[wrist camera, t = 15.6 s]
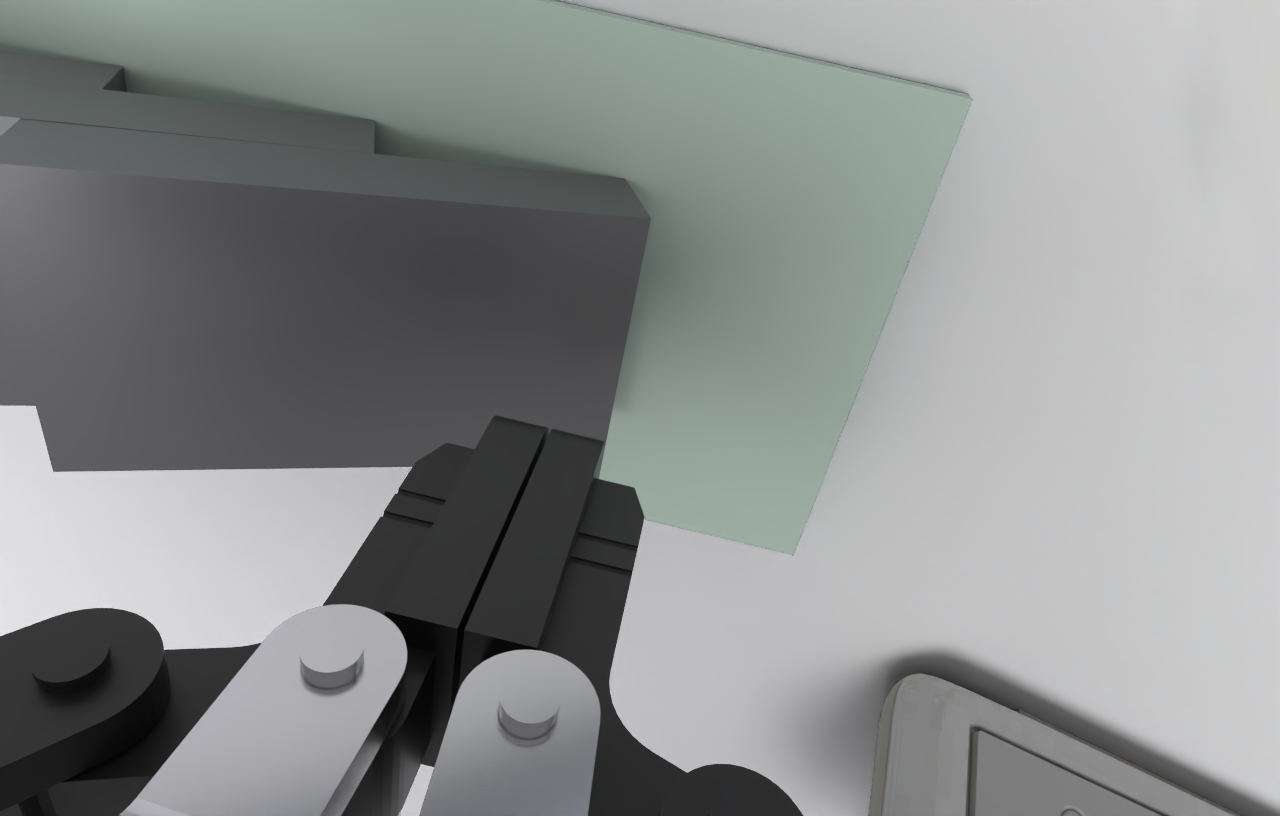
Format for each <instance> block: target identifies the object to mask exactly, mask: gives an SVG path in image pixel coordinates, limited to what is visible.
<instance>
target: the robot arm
mask: <svg viewBox="0 0 1280 816" xmlns="http://www.w3.org/2000/svg"><path fill="white" fill-rule="evenodd" d="M604 450H605V441H602V440H598V439H594V438H590V437H585V436H581V435H577V434H573V433H569V432H565V431H560V430H556V429H552V430H551V432H550V434H549V428H547V427H543V426H539V425H535V424H530V423H526V422H522V421H518V420H514V419H510V418H505V417H501V416H497V415H495V416H494V417H493V418H492V420H491V421H490V423H489V425H488V427H487V428H486V430H485V432H484V434H483V435H482V437H481V439H480V441H479V443H478V444H477V446H476V448H475V449H472V448H467V447H463V446H459V445H455V444H451V443H445V444H443V445H442V446H440V447H439V448H437V449H436V450H434V451H432V452H431V453H429V454H428V455H426V456H425V457H423V458H421V459H420V460H418V461H417V462H416V463H415V464H414V466H413V468H412V469H411V471H410V472H409V474H408V475H407V477H406V478H405V480H404V481H403V483H402V485H401V486H400V488H399V491H398V494H395V495H394V497H393V498H392V500H391V501H390V503H389V505H388V506H387V508H386V509H385V511H384V515H383V517H380V518H379V520H378V522H377V523H376V525H375V526H374V528H373V529H372V531H371V532H370V534H369V535H368V537H367V539H366V540H365V542H364V543H363V545H362V546H361V548H360V549H359V551H358V552H357V554H356V556H355V557H354V559H353V560H352V562H351V563H350V565H349V566H348V568H347V569H346V571H345V572H344V574H343V576H342V577H341V579H340V580H339V582H338V583H337V585H336V586H335V588H334V589H333V591H332V593H331V594H330V596H329V597H328V599H327V600H326V602H325V603H324V604H323V606H320V607H316V608H313V609H309V610H306V611H304V612H302V613H299V614H297V615H295V616H293V617H291V618H289V619H288V620H286V621H284V622H283V623H282V624H280V625H279V626H278V627H277V628H275V629H274V630H273V631H272V632H271V633H270V634H269V635H268V636H267V637H266V639H265V640H264V641H263V642H262V643H259V644H254V645H249V646H243V647H231V648H206V649H177V650H164V647H163V642H162V639H161V637H160V634H159V632H158V631H157V629H156V628H155V627H154V625H153V624H151V623H150V622H149V621H148V620H146V619H145V618H143V617H141V616H139V615H137V614H135V613H131V612H128V611H125V610H119V609H112V608H94V609H84V610H78V611H73V612H69V613H65V614H62V615H58V616H55V617H52V618H49V619H47V620H44V621H41V622H38V623H36V624H33V625H30V626H28V627H25V628H22V629H19V630H17V631H14V632H11V633H9V634H6V635H3V636H0V816H400V812H401V809H402V807H403V805H404V803H405V800H406V798H407V796H408V793H409V791H410V788H411V786H412V784H413V781H414V779H415V776H416V774H417V772H418V769H419V767H420V764H424V765H428V766H432V767H434V770H433V773H432V777H431V780H430V783H429V786H428V789H427V793H426V796H425V799H424V802H423V806H422V809H421V812H420V815H419V816H803V815H802V813H801V812H800V810H799V809H798V807H797V806H796V805H795V804H794V802H793V801H792V800H791V799H790V797H789V796H788V795H787V794H786V793H785V792H784V791H783V790H782V789H781V788H780V787H779V786H777V785H776V784H775V783H773V782H772V781H771V780H769V779H768V778H766V777H764V776H762V775H761V774H759V773H757V772H755V771H752V770H750V769H747V768H744V767H740V766H735V765H730V764H713V765H706V766H703V767H700V768H697V769H694V770H692V771H690V772H689V773H686V772H684V771H683V770H681V769H680V768H678V767H676V766H675V765H673V764H671V763H670V762H668V761H666V760H665V759H663V758H661V757H660V756H658V755H656V754H655V753H653V752H652V751H650V750H649V749H648V748H646V747H645V746H643V745H642V744H641V743H640V742H639V741H638V740H636V739H635V738H634V737H633V736H632V735H631V734H630V732H629V731H628V730H627V729H626V728H625V726H624V725H623V723H622V722H621V720H620V719H619V717H618V715H617V713H616V711H615V708H614V706H613V704H612V700H611V695H610V688H609V678H610V670H611V666H612V661H613V657H614V652H615V648H616V643H617V639H618V634H619V630H620V625H621V621H622V616H623V612H624V607H625V603H626V598H627V594H628V589H629V584H630V580H631V575H632V571H633V566H634V562H635V557H636V553H637V548H638V544H639V539H640V535H641V530H642V526H643V521H644V514H643V511H642V508H641V505H640V502H639V499H638V496H637V493H636V490H635V488H634V487H630V486H626V485H622V484H618V483H614V482H609V481H605V480H601V479H599V475H600V470H601V465H602V460H603V455H604Z"/></svg>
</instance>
